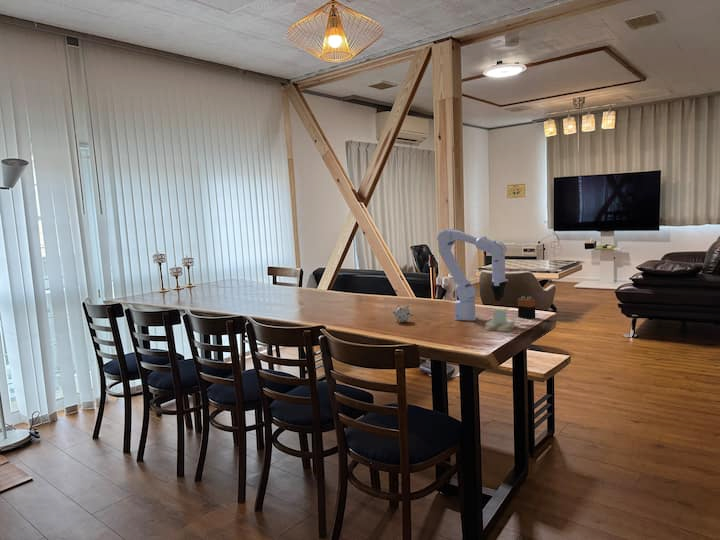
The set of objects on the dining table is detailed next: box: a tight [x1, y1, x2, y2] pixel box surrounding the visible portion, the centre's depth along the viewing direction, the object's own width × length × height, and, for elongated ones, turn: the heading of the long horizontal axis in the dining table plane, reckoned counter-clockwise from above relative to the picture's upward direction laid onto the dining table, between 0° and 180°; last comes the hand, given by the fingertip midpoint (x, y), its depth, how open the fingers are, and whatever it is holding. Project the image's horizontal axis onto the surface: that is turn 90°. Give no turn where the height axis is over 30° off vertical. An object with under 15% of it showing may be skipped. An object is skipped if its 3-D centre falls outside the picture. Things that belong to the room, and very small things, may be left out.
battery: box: [517, 295, 536, 320], centre depth 236 cm, size 4×7×10 cm, turn 36°
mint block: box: [493, 309, 507, 324], centre depth 218 cm, size 5×5×5 cm
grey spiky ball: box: [392, 304, 414, 324], centre depth 238 cm, size 9×8×10 cm
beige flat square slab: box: [484, 318, 516, 332], centre depth 219 cm, size 11×11×3 cm
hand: (499, 299), depth 230 cm, fingers open, 7 cm apart
